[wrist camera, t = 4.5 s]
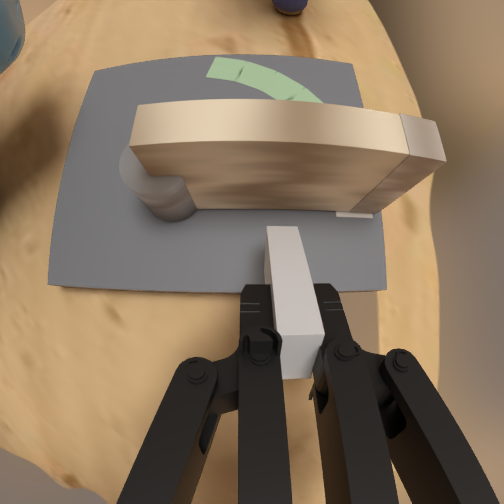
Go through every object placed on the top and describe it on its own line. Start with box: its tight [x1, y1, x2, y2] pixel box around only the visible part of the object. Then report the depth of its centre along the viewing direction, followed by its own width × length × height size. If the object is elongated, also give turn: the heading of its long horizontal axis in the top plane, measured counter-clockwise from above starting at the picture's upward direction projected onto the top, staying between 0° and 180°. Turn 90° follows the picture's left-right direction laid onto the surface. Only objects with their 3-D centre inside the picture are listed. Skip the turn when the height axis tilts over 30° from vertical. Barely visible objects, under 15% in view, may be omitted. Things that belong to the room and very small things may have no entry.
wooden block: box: [119, 99, 447, 222], centre depth 14 cm, size 15×4×8 cm, turn 90°
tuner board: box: [48, 54, 387, 294], centre depth 20 cm, size 23×19×2 cm
